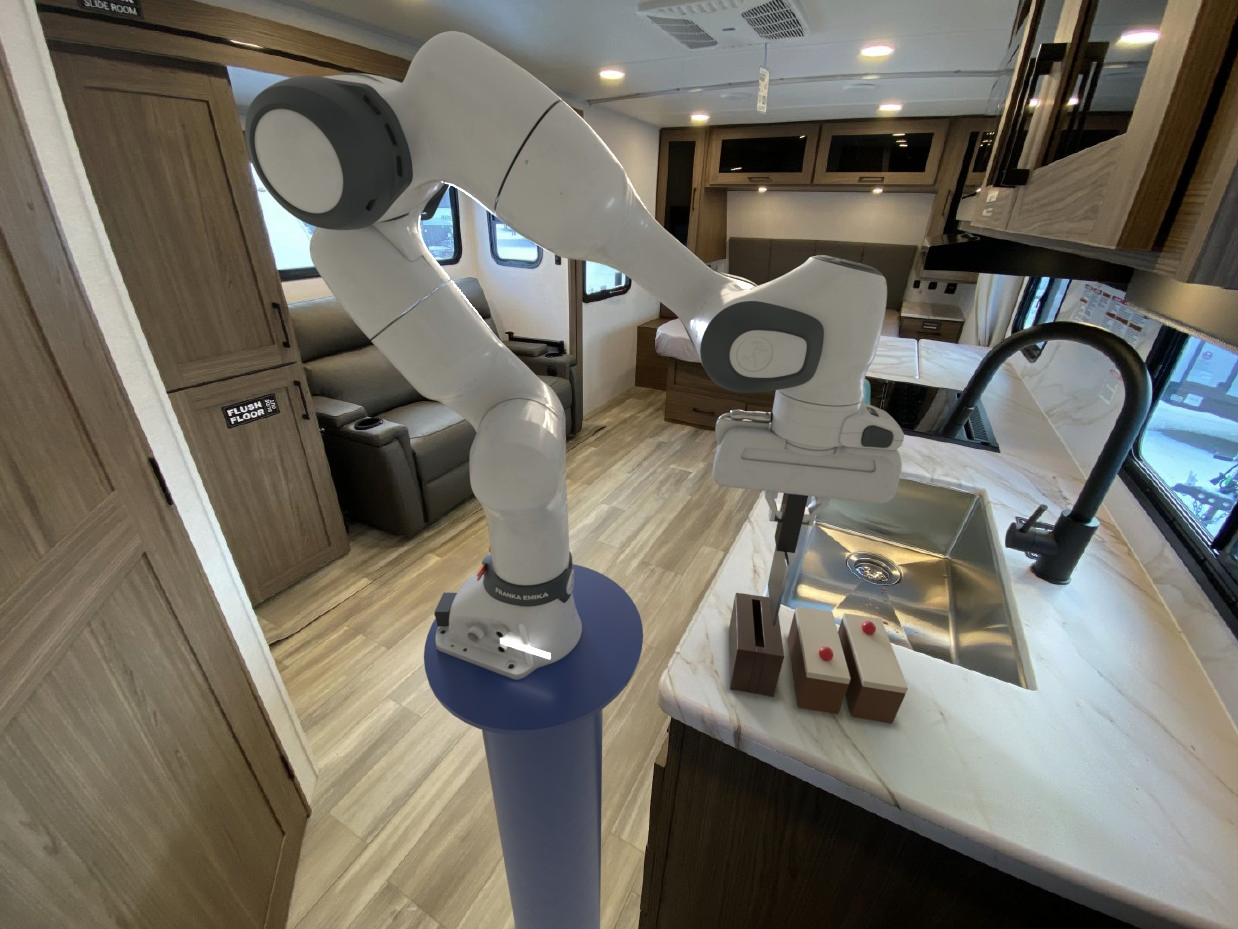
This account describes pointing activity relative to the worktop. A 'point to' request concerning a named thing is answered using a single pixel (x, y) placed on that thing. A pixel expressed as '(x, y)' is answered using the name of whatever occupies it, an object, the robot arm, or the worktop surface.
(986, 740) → the worktop surface
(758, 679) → the knife block
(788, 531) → the knife
